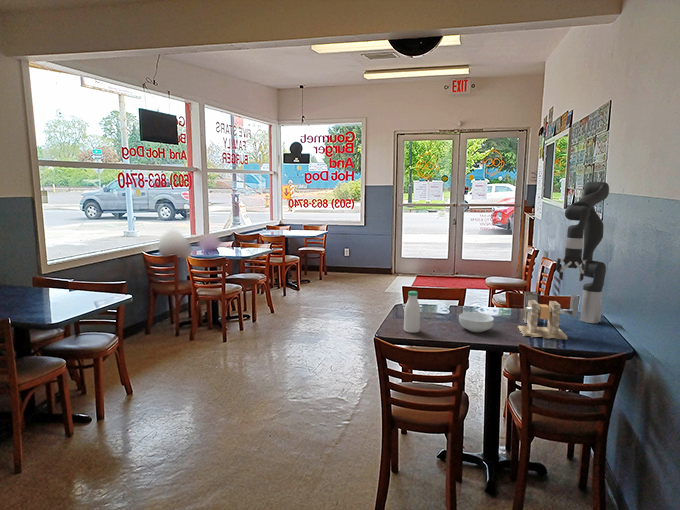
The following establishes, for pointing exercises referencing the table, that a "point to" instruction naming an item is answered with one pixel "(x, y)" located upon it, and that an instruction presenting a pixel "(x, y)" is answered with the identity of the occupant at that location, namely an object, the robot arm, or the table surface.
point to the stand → (545, 332)
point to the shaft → (572, 311)
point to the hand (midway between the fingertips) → (570, 280)
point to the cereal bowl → (476, 321)
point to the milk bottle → (412, 313)
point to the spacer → (544, 311)
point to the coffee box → (527, 297)
